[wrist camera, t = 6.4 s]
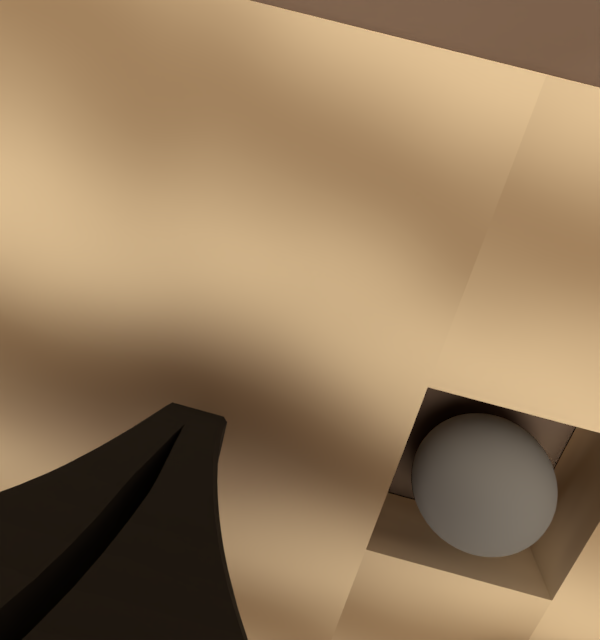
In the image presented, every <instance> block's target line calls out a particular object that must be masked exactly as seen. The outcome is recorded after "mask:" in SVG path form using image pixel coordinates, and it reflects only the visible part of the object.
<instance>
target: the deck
mask: <svg viewBox="0 0 600 640" xmlns="http://www.w3.org/2000/svg"><path fill="white" fill-rule="evenodd" d="M428 387H429V388H433V389H436V390H440V391H444V392H448V393H451V394H455V395H459V396H463V397H467V398H470V399H474V400H478V401H482V402H485V403H489V404H493V405H497V406H500V407H504V408H508V409H512V410H515V411H519V412H523V413H527V414H530V415H534V416H538V417H542V418H546V419H549V420H553V421H557V422H561V423H564V424H568V425H572V426H576V429H575V431H574V433H573V435H572V437H571V438H570V440H569V442H568V444H567V446H566V448H565V450H564V452H563V454H562V455H561V457H560V459H559V461H558V463H557V465H556V467H555V469H554V472H555V476H556V480H557V488H558V496H557V506H556V510H555V513H554V516H553V519H552V521H551V523H550V525H549V527H548V528H547V530H546V531H545V533H544V534H543V535H542V536H541V537H540V538H539V539H538V540H537V541H536V542H535V543H534V544H532V545H531V546H530V547H528V548H526V549H524V550H522V551H520V552H518V553H515V554H512V555H509V556H503V557H482V556H476V555H472V554H469V553H466V552H464V551H461V550H459V549H457V548H455V547H453V546H452V545H450V544H448V543H447V542H446V541H444V540H443V539H442V538H440V537H439V536H438V535H437V534H436V533H435V532H434V531H433V530H432V529H431V527H430V526H429V525H428V524H427V522H426V521H425V519H424V518H423V516H422V514H421V513H420V511H419V508H418V506H417V504H416V501H415V500H413V499H409V498H405V497H402V496H398V495H394V494H391V493H388V490H389V488H390V485H391V482H392V480H393V477H394V474H395V472H396V469H397V467H398V464H399V461H400V459H401V456H402V453H403V451H404V448H405V446H406V443H407V440H408V438H409V435H410V432H411V430H412V427H413V425H414V422H415V419H416V417H417V414H418V411H419V409H420V406H421V404H422V401H423V398H424V396H425V393H426V390H427V388H428ZM172 402H173V403H177V404H180V405H184V406H187V407H191V408H195V409H198V410H202V411H206V412H209V413H213V414H216V415H220V416H224V418H225V420H226V421H227V425H226V429H225V434H224V438H223V443H222V447H221V452H220V456H219V461H218V478H217V485H218V505H219V517H220V526H221V533H222V540H223V546H224V552H225V557H226V562H227V567H228V572H229V576H230V579H231V583H232V587H233V591H234V595H235V599H236V603H237V607H238V610H239V613H240V617H241V620H242V623H243V626H244V629H245V632H246V635H247V638H248V640H600V88H599V87H595V86H591V85H587V84H583V83H579V82H575V81H571V80H567V79H563V78H559V77H555V76H551V75H547V74H543V73H539V72H535V71H531V70H527V69H523V68H519V67H514V66H510V65H506V64H502V63H498V62H494V61H490V60H486V59H482V58H478V57H474V56H470V55H466V54H462V53H458V52H454V51H450V50H446V49H442V48H438V47H434V46H430V45H426V44H422V43H418V42H414V41H410V40H406V39H402V38H398V37H394V36H390V35H386V34H382V33H378V32H374V31H370V30H366V29H362V28H358V27H354V26H350V25H346V24H342V23H338V22H334V21H330V20H326V19H322V18H318V17H314V16H310V15H306V14H302V13H298V12H294V11H290V10H286V9H282V8H278V7H274V6H270V5H266V4H262V3H258V2H254V1H250V0H0V491H3V490H6V489H9V488H12V487H14V486H17V485H20V484H22V483H25V482H27V481H29V480H32V479H34V478H37V477H39V476H41V475H44V474H46V473H48V472H51V471H53V470H55V469H57V468H59V467H61V466H63V465H65V464H67V463H69V462H71V461H73V460H75V459H77V458H79V457H81V456H83V455H85V454H86V453H88V452H90V451H92V450H94V449H96V448H98V447H100V446H101V445H103V444H105V443H107V442H108V441H110V440H112V439H113V438H115V437H117V436H119V435H120V434H122V433H124V432H125V431H127V430H129V429H130V428H132V427H134V426H135V425H137V424H138V423H140V422H141V421H143V420H145V419H146V418H148V417H149V416H151V415H152V414H154V413H156V412H157V411H159V410H160V409H162V408H163V407H165V406H166V405H168V404H170V403H172Z"/></svg>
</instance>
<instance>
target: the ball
mask: <svg viewBox="0 0 600 640" xmlns="http://www.w3.org/2000/svg"><path fill="white" fill-rule="evenodd" d="M412 489H413V494H414V497H415V501H416V504H417V506H418V508H419V511H420V513H421V514H422V516H423V518H424V519H425V521H426V522H427V524H428V525H429V526H430V527H431V529H432V530H433V531H434V532H435V533H436V534H437V535H438V536H439V537H440V538H442V539H443V540H444V541H446V542H447V543H448V544H450V545H452V546H453V547H455V548H457V549H459V550H461V551H464V552H466V553H469V554H472V555H476V556H482V557H503V556H509V555H512V554H515V553H518V552H520V551H522V550H524V549H526V548H528V547H530V546H531V545H532V544H534V543H535V542H536V541H537V540H538V539H539V538H540V537H541V536H542V535H543V534H544V533H545V531H546V530H547V528H548V527H549V525H550V523H551V521H552V519H553V516H554V513H555V510H556V506H557V496H558V488H557V480H556V476H555V472H554V469H553V466H552V464H551V461H550V459H549V458H548V456H547V454H546V452H545V451H544V449H543V448H542V447H541V445H540V444H539V443H538V442H537V440H536V439H535V438H534V437H533V436H532V435H530V434H529V433H528V432H527V431H526V430H524V429H523V428H521V427H520V426H519V425H517V424H515V423H513V422H511V421H510V420H507V419H504V418H502V417H499V416H495V415H491V414H484V413H469V414H462V415H458V416H455V417H452V418H450V419H448V420H445V421H443V422H442V423H440V424H439V425H437V426H436V427H435V428H434V429H432V430H431V431H430V432H429V433H428V434H427V436H426V437H425V438H424V439H423V441H422V442H421V444H420V446H419V447H418V450H417V452H416V454H415V458H414V461H413V465H412Z"/></svg>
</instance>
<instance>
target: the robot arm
mask: <svg viewBox="0 0 600 640" xmlns="http://www.w3.org/2000/svg"><path fill="white" fill-rule="evenodd" d="M226 425H227V421H226V420H225V418H224V416H220V415H216V414H213V413H209V412H206V411H202V410H198V409H195V408H191V407H187V406H184V405H180V404H177V403H173V402H172V403H170V404H168V405H166V406H165V407H163V408H162V409H160V410H159V411H157V412H156V413H154V414H152V415H151V416H149V417H148V418H146V419H145V420H143V421H141V422H140V423H138V424H137V425H135V426H134V427H132V428H130V429H129V430H127V431H125V432H124V433H122V434H120V435H119V436H117V437H115V438H113V439H112V440H110V441H108V442H107V443H105V444H103V445H101V446H100V447H98V448H96V449H94V450H92V451H90V452H88V453H86V454H85V455H83V456H81V457H79V458H77V459H75V460H73V461H71V462H69V463H67V464H65V465H63V466H61V467H59V468H57V469H55V470H53V471H51V472H48V473H46V474H44V475H41V476H39V477H37V478H34V479H32V480H29V481H27V482H25V483H22V484H20V485H17V486H14V487H12V488H9V489H6V490H3V491H0V640H248V638H247V635H246V632H245V629H244V626H243V623H242V620H241V617H240V613H239V610H238V607H237V603H236V599H235V595H234V591H233V587H232V583H231V579H230V576H229V572H228V567H227V562H226V557H225V552H224V546H223V540H222V533H221V526H220V517H219V505H218V485H217V478H218V461H219V456H220V452H221V447H222V443H223V438H224V434H225V429H226Z"/></svg>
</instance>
